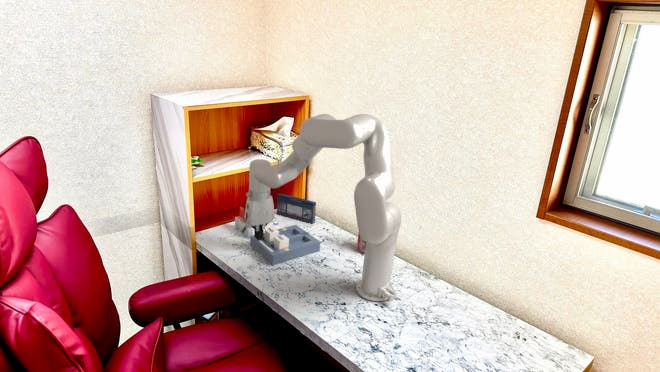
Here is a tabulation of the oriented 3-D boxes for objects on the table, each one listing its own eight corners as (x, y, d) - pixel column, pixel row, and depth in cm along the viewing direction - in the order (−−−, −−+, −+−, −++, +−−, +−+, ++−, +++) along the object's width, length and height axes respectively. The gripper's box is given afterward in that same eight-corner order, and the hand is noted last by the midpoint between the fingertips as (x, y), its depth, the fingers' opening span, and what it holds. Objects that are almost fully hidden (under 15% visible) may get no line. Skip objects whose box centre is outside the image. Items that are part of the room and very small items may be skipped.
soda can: (375, 255, 167) (378, 228, 162) (357, 254, 167) (360, 226, 162) (373, 247, 173) (377, 220, 169) (356, 245, 173) (359, 218, 169)
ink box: (248, 238, 172) (248, 216, 168) (234, 228, 180) (234, 206, 176) (253, 237, 173) (253, 215, 170) (239, 226, 181) (239, 205, 178)
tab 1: (278, 242, 166) (279, 229, 164) (269, 245, 164) (270, 232, 162) (273, 238, 169) (273, 225, 167) (264, 241, 166) (264, 228, 165)
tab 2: (288, 250, 161) (289, 237, 159) (279, 253, 159) (279, 240, 157) (282, 246, 164) (283, 233, 162) (273, 248, 161) (274, 235, 159)
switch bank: (319, 250, 167) (320, 241, 166) (272, 265, 154) (273, 255, 153) (295, 233, 179) (295, 224, 178) (250, 245, 167) (250, 236, 165)
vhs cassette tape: (276, 214, 195) (277, 194, 192) (279, 212, 198) (280, 192, 194) (311, 225, 188) (313, 204, 184) (315, 222, 190) (316, 202, 187)
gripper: (246, 201, 148) (245, 247, 155) (282, 193, 157) (281, 238, 164) (236, 193, 154) (236, 239, 160) (272, 186, 163) (270, 230, 169)
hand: (258, 238), depth 162 cm, fingers closed
